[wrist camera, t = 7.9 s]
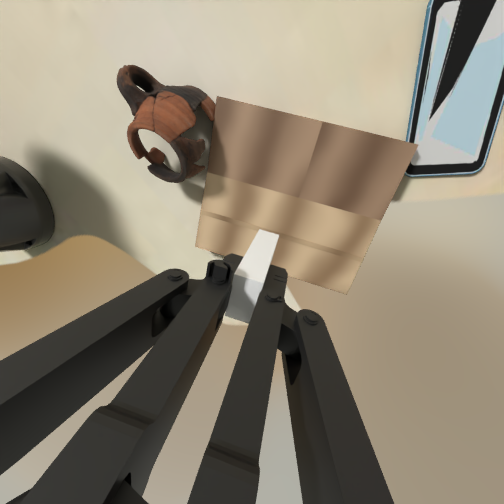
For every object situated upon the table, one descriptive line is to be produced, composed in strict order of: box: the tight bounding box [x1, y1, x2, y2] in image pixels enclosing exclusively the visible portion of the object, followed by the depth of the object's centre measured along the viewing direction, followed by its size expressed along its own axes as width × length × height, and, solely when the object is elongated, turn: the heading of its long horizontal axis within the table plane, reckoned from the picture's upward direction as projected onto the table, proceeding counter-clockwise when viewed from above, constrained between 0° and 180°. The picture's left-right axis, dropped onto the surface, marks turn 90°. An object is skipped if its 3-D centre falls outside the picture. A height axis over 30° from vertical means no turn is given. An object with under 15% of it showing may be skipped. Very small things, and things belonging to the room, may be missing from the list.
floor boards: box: [207, 96, 418, 221], centre depth 27 cm, size 21×8×2 cm, turn 76°
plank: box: [195, 172, 381, 294], centre depth 31 cm, size 21×10×2 cm, turn 77°
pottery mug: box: [117, 65, 216, 183], centre depth 28 cm, size 12×9×8 cm
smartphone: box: [404, 0, 504, 177], centre depth 23 cm, size 7×1×15 cm
